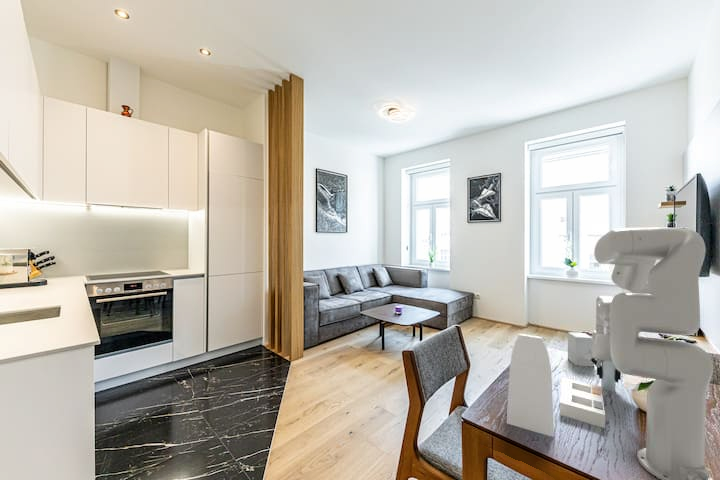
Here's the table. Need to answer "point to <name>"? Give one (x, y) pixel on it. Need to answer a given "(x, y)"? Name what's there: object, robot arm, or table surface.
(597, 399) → the socket block
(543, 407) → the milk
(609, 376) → the plug
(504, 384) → the table surface
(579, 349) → the supplement box
